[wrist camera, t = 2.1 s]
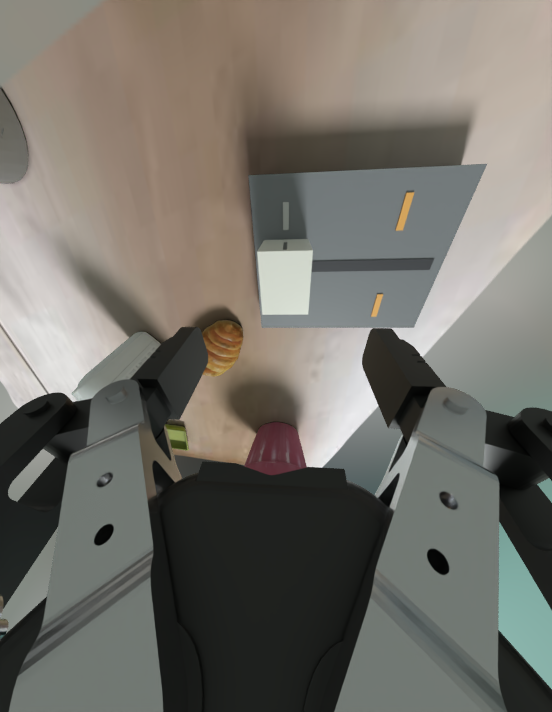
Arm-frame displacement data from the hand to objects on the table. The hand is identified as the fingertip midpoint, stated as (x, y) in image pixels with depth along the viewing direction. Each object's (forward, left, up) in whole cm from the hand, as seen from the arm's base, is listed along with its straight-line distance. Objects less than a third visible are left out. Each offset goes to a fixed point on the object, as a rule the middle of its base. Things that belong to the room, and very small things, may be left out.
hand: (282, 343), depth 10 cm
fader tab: (0, 0, -13) cm, 13 cm away
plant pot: (-2, -36, -17) cm, 40 cm away
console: (+6, 0, -17) cm, 17 cm away
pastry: (-11, -12, -17) cm, 23 cm away
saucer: (-27, -37, -17) cm, 49 cm away
